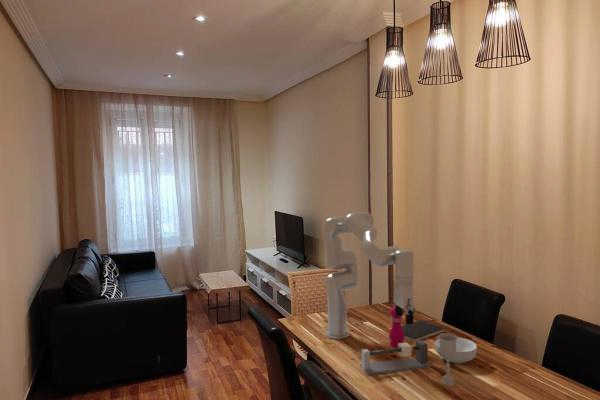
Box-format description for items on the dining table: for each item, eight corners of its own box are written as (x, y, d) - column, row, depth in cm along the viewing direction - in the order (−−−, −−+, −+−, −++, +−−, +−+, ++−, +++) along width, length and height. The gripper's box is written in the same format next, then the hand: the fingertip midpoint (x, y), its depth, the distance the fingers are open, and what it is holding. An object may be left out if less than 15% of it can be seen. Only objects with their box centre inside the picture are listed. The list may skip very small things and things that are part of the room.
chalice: (435, 378, 165) (435, 333, 164) (452, 377, 165) (452, 332, 164) (443, 387, 158) (443, 341, 156) (460, 386, 158) (460, 340, 157)
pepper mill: (405, 349, 193) (404, 306, 191) (389, 348, 194) (388, 305, 193) (404, 342, 200) (404, 301, 198) (389, 341, 201) (388, 301, 200)
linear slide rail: (359, 366, 176) (359, 345, 176) (421, 359, 182) (421, 338, 181) (366, 375, 168) (366, 353, 168) (430, 367, 174) (430, 345, 174)
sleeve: (398, 352, 177) (398, 343, 177) (406, 351, 178) (406, 342, 178) (402, 356, 174) (402, 347, 173) (411, 355, 174) (411, 346, 174)
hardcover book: (445, 332, 212) (445, 328, 212) (413, 343, 200) (413, 338, 200) (420, 323, 226) (420, 319, 226) (389, 333, 213) (389, 328, 213)
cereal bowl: (475, 353, 186) (475, 338, 186) (478, 370, 170) (478, 353, 170) (435, 349, 192) (435, 334, 191) (434, 365, 176) (434, 349, 175)
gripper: (387, 275, 182) (387, 313, 183) (405, 285, 165) (405, 328, 166) (403, 273, 183) (403, 312, 184) (422, 284, 166) (422, 326, 167)
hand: (404, 319), depth 175 cm, fingers open, 9 cm apart
